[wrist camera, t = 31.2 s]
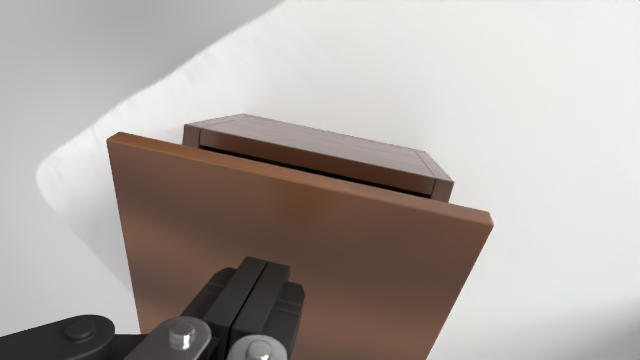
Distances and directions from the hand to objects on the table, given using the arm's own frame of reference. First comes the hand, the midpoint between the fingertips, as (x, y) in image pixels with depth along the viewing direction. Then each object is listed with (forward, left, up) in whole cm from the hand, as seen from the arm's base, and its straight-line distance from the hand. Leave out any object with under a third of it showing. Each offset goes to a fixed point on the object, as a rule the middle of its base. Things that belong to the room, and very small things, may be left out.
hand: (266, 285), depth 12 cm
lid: (0, +5, -4) cm, 7 cm away
